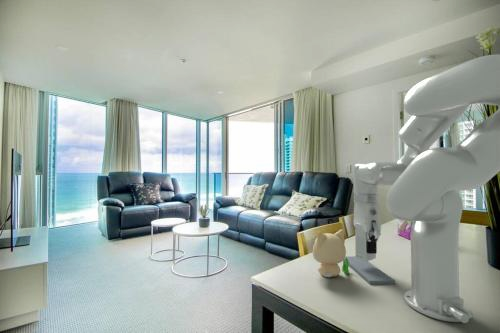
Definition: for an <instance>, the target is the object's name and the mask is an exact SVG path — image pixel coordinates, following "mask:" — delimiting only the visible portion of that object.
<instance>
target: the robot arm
mask: <svg viewBox="0 0 500 333" xmlns="http://www.w3.org/2000/svg"><path fill="white" fill-rule="evenodd" d="M474 104H480V105H489V106H498V109H497V110H496V111H495V112H494V113H492V114H491V115H489V116H488V117H486V118H485V119H484V120H482V121H481V122H479V123H478V124H477V125H476V126H474V127H473V129H472V130H471V131H470V132H469V134H467V136H466V137H464V138H463V139H462V141H460V142H459V143H457V145H455V146H452V147H444V146H442V147H441V146H440V147H434V148H431V147H432V145H434V144H435V143H436V142H437V141H438V139H439V138H441V137H442V135H444V134H445V132H446V131H448V129H450V127H452V125H453V124H454V123H456V121H457V120H458V119H459V118H460V117H461V116H462V115H463V114H464V113H465V112H466V111H467V110H468V108H469V107H470V105H474ZM403 108H404V110H405V112H406V113H407V114H409V115H410V118H409V119H408V120H407V121H406V123H404V124H403V126H402V127H401V128H400V129H399V130H398V131H399V132H398V137H399V139H400V140H401V141H402V143H403V144H404V145H405V146H407V149H406V151H405V153H404V154H403V155H402V156H401V157H400V158H399V159H398V160H397V162H394V161H391V162H390V161H389V162H387V161H385V162H381V161H377V162H375V161H374V162H370V163H356V164H354V166H353V202H354V204H353V205H354V206H353V222H352V223H353V226H354V227H353V228H355V224H356V223H359V224H361V225H362V228H363V231H364V232H366V234H367V240H368V241H366V252H367V253H368V254H376V255H377V249H378V248H377V245H378V244H377V243H378V242H379V241H378V240H379V237H380V236H381V234H382V233H381V232H382V224H381V221H382V220H381V212H380V207H379V204H378V202H379V201H378V199H379V196H378V194H379V191H378V187H380V186H381V187H382V186H383V187H384V186H390V188H389V189H388V191H387V193H386V199H385V205H386V208H387V211H388V212H389V213H390V215H391V216H392V217H394V218H396V219H397V220H398V219H399V220H402V221H414V223H413V225H412V229H411V240H410V279H411V280H410V282H411V283H410V284H411V286H410V288H411V290H410V289H409V290H407V291H405V293H404V300H405V303H406V304H408V306H410V307H411V308H412V309H413V310H415V311H417V312H419V313H421V314H422V315H425V316H427V317H429V318H432V319H436V320H439V321H443V322H452V323H463V324H467V323H469V321H470V319H473V318H474V313H473V312H472V311H471V310H470V309H468V308H467V307H466V306H465V305H464V299H463V298H462V297H461V296H460V272H459V271H460V270H459V269H460V268H459V267H460V264H459V262H460V261H459V259H460V258H459V249H460V248H459V247H460V246H459V245H460V244H459V233H460V224H461V219H462V214H463V208H464V207H463V206H464V204H463V198H462V196H461V195H460V193H459V191H471V190H472V191H473V190H475V189H478V188H481V187H483V186H484V185H485V184H487V183H488V182H489V181H490V180H491V179H492V178H494V177H495V176H496V175H497V174H498V173H499V172H500V54H489V55H483V56H479V57H476V58H473V59H470V60H468V61H465V62H462V63H460V64H459V65H455V66H453V67H451V68H449V69H446V70H443V71H441V72H438V73H437V74H434V75H431V76H429V77H426V78H425V79H423V80H421V81H419V82H418V83H416V84H415V85H414V86H412V88H410V89H409V90H408V92H407V93H406V94H405V97H404V100H403ZM369 230H372V232H370V231H369ZM370 234H373V235H372V236H371V237H370Z"/></svg>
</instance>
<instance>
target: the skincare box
mask: <svg viewBox="0 0 500 333" xmlns="http://www.w3.org/2000/svg"><path fill="white" fill-rule="evenodd" d="M369 231H370V232H372V230H369ZM354 234H355V237H354V238H355V239H354V240H355V248H354V249H355V256H356V258H358V259H360V260H363V261H368V262H370V261H373V260H375V259H376V258H377V253H376V254H368V253H367V252H366V241H368V240H367V234H366V232H364V231H363V228H362V225H361V224H359V223H356V224H355V227H354ZM372 235H373V234H370V237H371V236H372Z"/></svg>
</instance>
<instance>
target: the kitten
mask: <svg viewBox="0 0 500 333" xmlns="http://www.w3.org/2000/svg"><path fill="white" fill-rule="evenodd" d="M345 234H346V233H345V229H344V228H341V229H339V230H338V231H337V232H334V233H327V232H326V233H323V232H322V231H319V230H318V232H317V237H316V238H315V240H314V241H313V244H312V245H313V246H312V256H313V259H314V260H315V261H316V262H318V263H320V265H319V266H318V269H317V270H318V274H320V275H322V276H323V277H326V278H331V277H337V276H339V275H340V274H341V269H342V271H343V272H344V274H345V275H349V273H350V271H349V267H350V266H349V261H348V259H347V258H346V260H345V262H344V261H343V260H344V258H345V257H347V256H346V255H347V250H346V245H345V244H346V240H345ZM340 263H342V268H341V269H340V266H339V264H340Z"/></svg>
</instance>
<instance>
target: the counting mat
mask: <svg viewBox="0 0 500 333" xmlns="http://www.w3.org/2000/svg"><path fill="white" fill-rule="evenodd" d="M346 258H347V259H348V261H349V266H348V267H349V268H350V269H352V270H353V271H354V272H355V273H356V274H357V275H358V276H360V277H361V278H362V279H363V280H364V281H365V282H366V283H367V284H369V285H396V280H395V279H394V278H392V277H391V276H389V275H388V274H387V273H385V272H384V271H382V270H381V269H380V268H378V267H377V266H375V265H374V264H372V263H371V262H370V261H363V260H360V259H358V258H356V255H355V256H345V258H344V260H343V261H344V262H345V260H346ZM343 261H342V262H343Z"/></svg>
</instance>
